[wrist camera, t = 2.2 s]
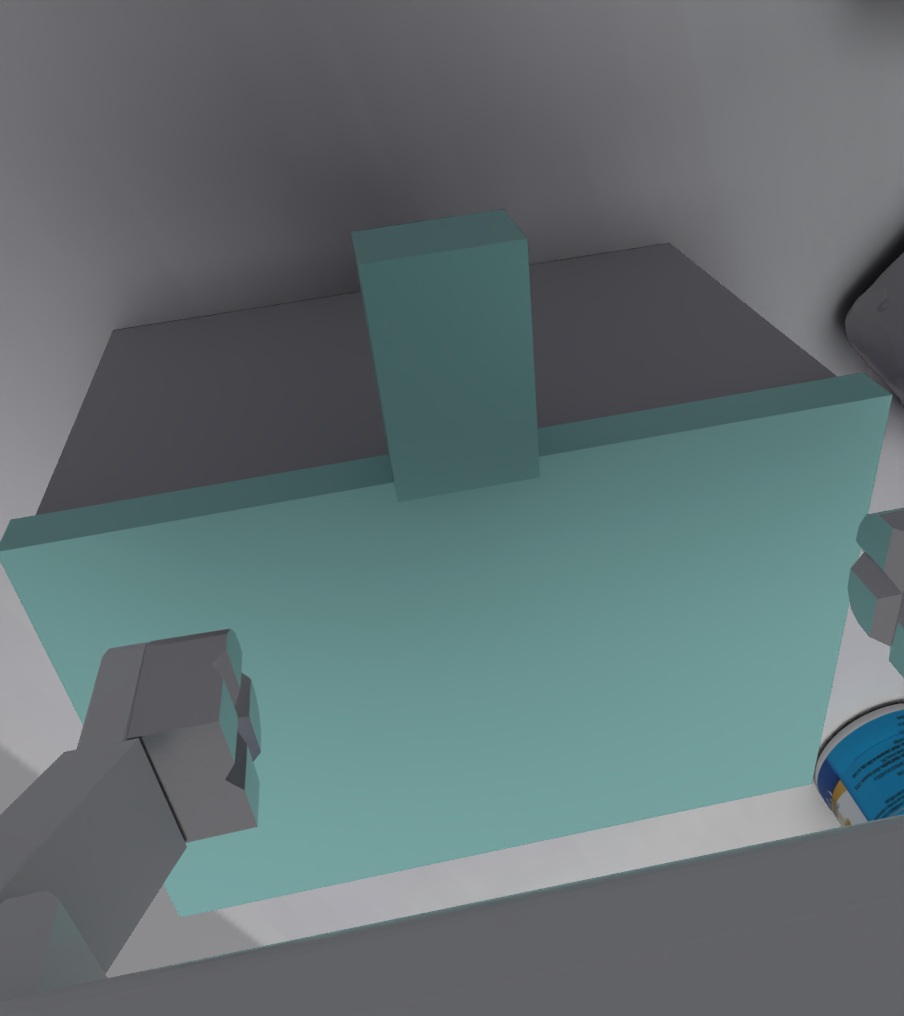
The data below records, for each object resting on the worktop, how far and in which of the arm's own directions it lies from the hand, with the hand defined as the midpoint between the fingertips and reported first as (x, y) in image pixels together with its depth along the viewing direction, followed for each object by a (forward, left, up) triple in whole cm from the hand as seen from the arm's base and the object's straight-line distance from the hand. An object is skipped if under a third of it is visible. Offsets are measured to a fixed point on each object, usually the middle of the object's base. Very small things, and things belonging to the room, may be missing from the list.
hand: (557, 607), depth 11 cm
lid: (+7, 0, -9) cm, 11 cm away
